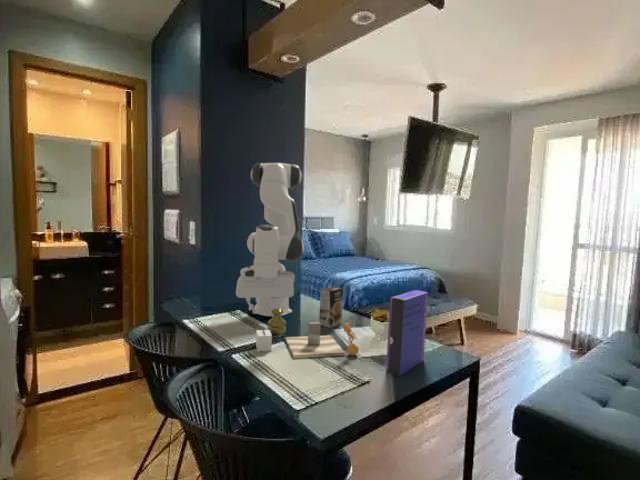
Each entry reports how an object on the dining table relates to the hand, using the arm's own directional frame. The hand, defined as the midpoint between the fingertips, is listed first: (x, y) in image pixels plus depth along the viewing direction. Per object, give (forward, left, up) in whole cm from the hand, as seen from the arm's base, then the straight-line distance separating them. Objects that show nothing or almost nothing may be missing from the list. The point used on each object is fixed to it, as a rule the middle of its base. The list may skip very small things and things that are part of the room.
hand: (264, 309), depth 136 cm
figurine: (+11, +29, -14) cm, 34 cm away
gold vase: (-17, +7, -14) cm, 24 cm away
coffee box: (-25, +32, -14) cm, 43 cm away
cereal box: (+22, +45, -14) cm, 52 cm away
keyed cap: (0, 0, -14) cm, 14 cm away
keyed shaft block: (+2, +18, -14) cm, 23 cm away
